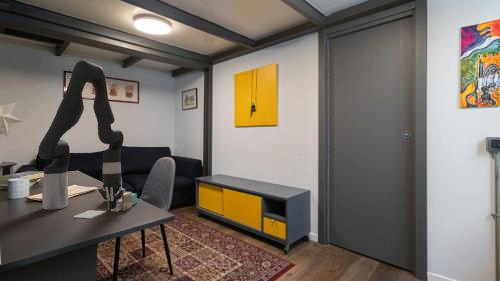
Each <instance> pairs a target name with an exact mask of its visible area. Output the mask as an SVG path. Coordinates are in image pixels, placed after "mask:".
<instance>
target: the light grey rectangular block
mask: <svg viewBox="0 0 500 281" xmlns="http://www.w3.org/2000/svg"><path fill="white" fill-rule="evenodd" d="M110 211H111V212H119V211H122V199H121V200H119V201H116V207H115V208H114V209H111V210H110Z"/></svg>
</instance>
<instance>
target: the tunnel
mask: <svg viewBox="0 0 500 281" xmlns="http://www.w3.org/2000/svg"><path fill="white" fill-rule="evenodd" d="M118 193H119V192H118ZM132 194H133V192H132V191H125V192H124V194H123V195H122V210H121V211H124V212H125V211H126V210H129V209H131V208H133V205H132ZM116 201H118V200H116ZM107 210H108V211H111V209H109V204H108V203H107Z"/></svg>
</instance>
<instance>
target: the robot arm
mask: <svg viewBox="0 0 500 281" xmlns="http://www.w3.org/2000/svg"><path fill="white" fill-rule="evenodd" d="M87 83H88V84H91V85H92V87H93V90H94V95H95V96H94V100H93V113H94V115H95V118H96V120H97V136H98V139H99V141H100V142H101V143H102V144H104V145H108V147H107V149H104V150H103V153H102V183H103V185H102V187H101V188H98V193H99V194H100V195H101V197H102V199H103V200H104V199H105V200H108V202H107V205H108V204H109V209H114V208H115V207H116V200H118V199H120V198H121V197H122V195H123V194H124V192H127V189H126V188H123V186H122V187H121V183H120V182H121V177H122V164H121V163H122V162H121V152H122V149H123V144H124V136H125V135H124V133H123V132H122V130H120V129H118V128H112V124H114V123H115V120H116V119H115V116H114V113H113V110H112V106H111V103H110V100H109V93H108V87H107V81H106V74H105V71H104V69H103V67H102V66H100V65H99V64H96V63H93V62H90V61H86V60H79V61H77V62H76V63H75V65H74V66H73V69H72V71H71V75H70V78H69V82H68V84H67V87H66V90H65V92H64V95H63V98H62V100H61V102H60V104H59V106H58V109H57V110H56V113H55V115H54V118H53V119H52V120H53V121H52V122H51V123H50V126H49V128H48V130H47V131H46V133H45V135H44V136H43V138H42V139H41V141H40V144H39V145H38V150H37V152H38V153H37V154H38V156H39V158H40V159H41V160H42V159H43V160H53V161H52V162H51V163H50V164H48V165H47V166H45V167H44V168H43V188H41V194H42V195H41V197H42V199H41V201H42V204H41V205H42V209H44V210H46V211H47V210H48V211H49V210H50V211H52V210H59V209H64V208H66V207H68V206H69V183H68V182H69V181H68V180H69V179H68V178H69V177H68V168H69V166H70V155H71V154H70V153H71V152H70V151H71V150H70V145H69V143H68V142H67V140H64V139H61V138H62V137H63V136H64V135H65V134H66V133H68V132H69V131H70V130H71V129H72V128H74V127H75V125H77V123H79V121H80V119H81V118H82V115H83V113H84V110H85V106H84V100H83V90H84V89H85V85H86V84H87ZM118 191H119V193H118Z"/></svg>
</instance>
